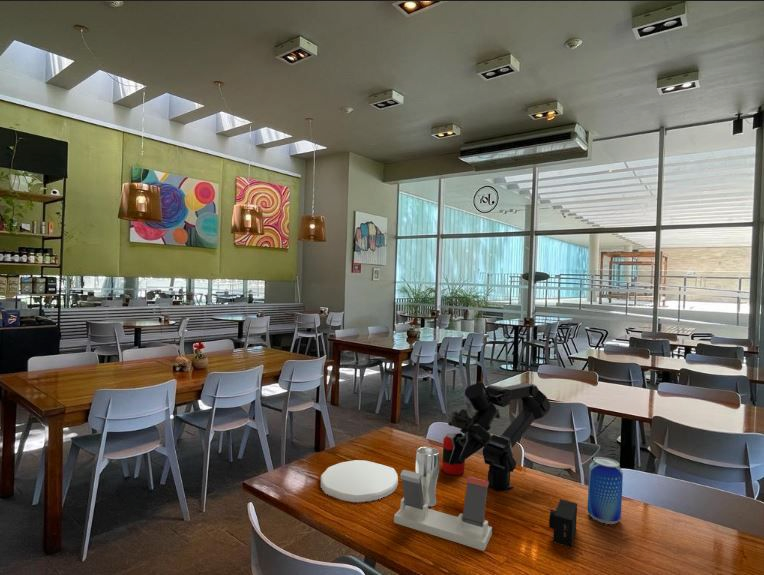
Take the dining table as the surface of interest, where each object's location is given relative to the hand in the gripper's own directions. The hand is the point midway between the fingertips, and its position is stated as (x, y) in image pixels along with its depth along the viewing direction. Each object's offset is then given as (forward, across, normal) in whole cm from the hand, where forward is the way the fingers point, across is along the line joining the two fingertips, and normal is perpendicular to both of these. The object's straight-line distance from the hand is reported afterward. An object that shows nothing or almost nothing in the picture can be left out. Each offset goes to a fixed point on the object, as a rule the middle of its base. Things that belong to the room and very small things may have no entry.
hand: (455, 462), depth 125 cm
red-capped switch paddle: (+12, +10, +9) cm, 18 cm away
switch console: (+17, +4, +5) cm, 18 cm away
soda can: (-6, -27, +6) cm, 28 cm away
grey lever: (+17, +1, -3) cm, 17 cm away
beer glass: (+12, -9, +1) cm, 15 cm away
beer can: (-14, +3, +42) cm, 44 cm away
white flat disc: (+19, -22, -17) cm, 34 cm away
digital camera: (0, +8, +31) cm, 32 cm away
